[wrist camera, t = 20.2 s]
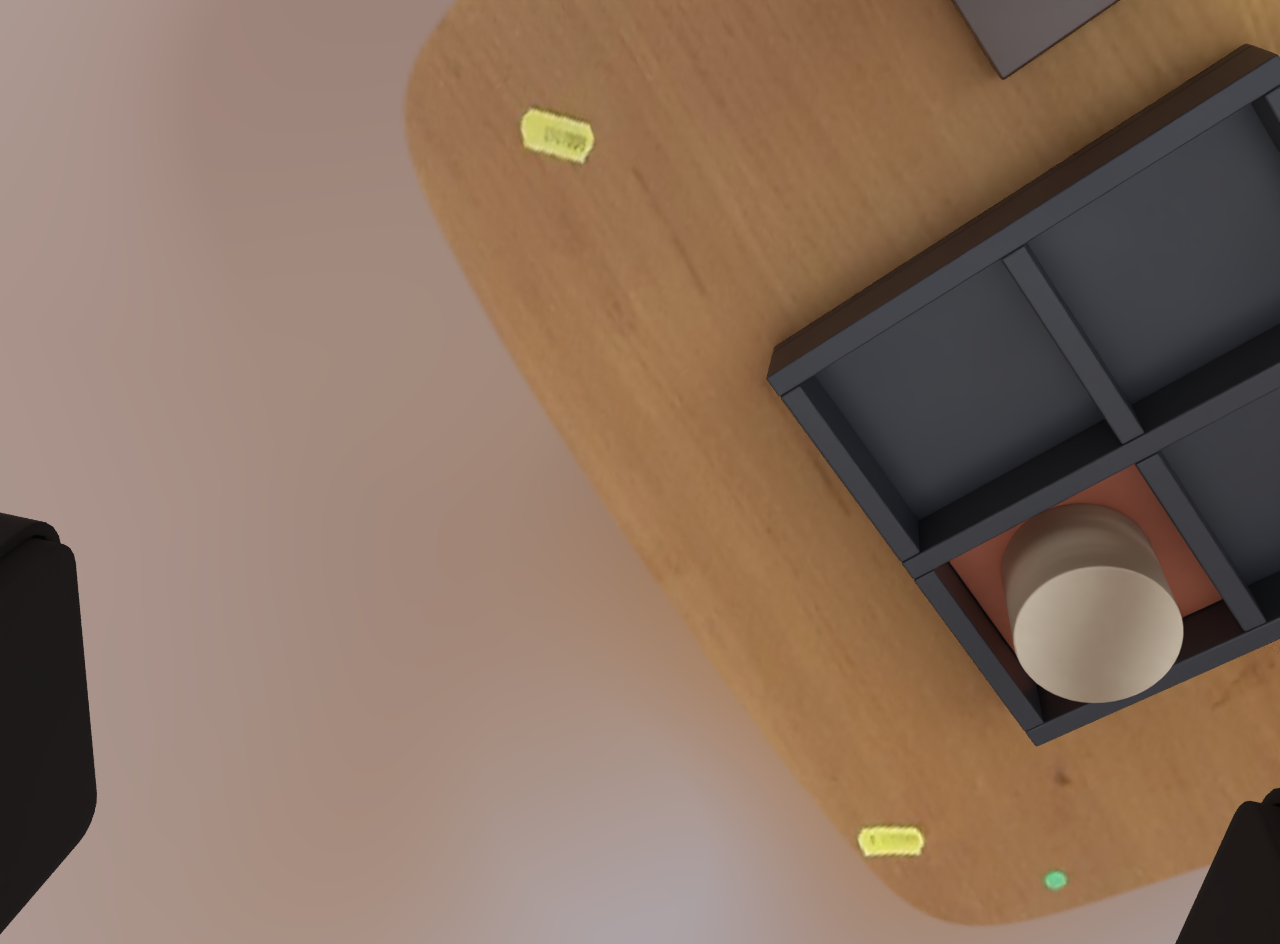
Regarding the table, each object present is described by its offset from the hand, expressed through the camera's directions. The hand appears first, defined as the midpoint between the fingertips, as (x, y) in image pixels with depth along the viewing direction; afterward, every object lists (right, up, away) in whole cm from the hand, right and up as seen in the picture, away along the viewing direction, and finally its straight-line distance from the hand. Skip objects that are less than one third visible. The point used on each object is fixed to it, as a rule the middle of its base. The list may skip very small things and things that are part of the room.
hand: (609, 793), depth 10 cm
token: (+14, 0, +28) cm, 32 cm away
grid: (+15, +4, +27) cm, 31 cm away
